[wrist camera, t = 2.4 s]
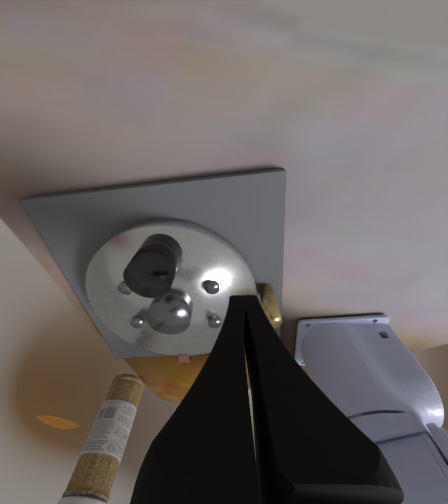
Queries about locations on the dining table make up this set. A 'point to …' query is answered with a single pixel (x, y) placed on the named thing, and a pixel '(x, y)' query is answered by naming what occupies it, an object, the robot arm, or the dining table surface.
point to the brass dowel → (270, 304)
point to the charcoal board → (173, 208)
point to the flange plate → (187, 278)
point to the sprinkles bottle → (105, 444)
